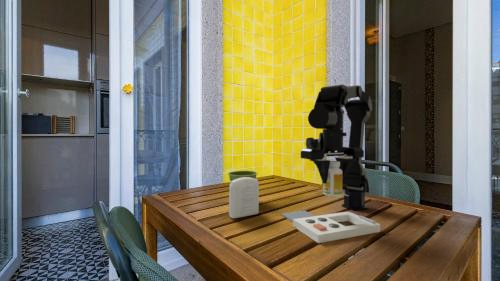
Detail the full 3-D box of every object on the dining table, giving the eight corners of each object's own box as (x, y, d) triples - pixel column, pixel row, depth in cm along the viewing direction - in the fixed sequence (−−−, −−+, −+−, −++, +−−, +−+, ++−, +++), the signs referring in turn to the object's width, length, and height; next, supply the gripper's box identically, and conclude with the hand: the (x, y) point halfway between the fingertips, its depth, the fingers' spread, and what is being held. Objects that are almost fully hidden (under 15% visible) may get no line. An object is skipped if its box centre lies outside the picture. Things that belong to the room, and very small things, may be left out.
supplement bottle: (342, 193, 74) (343, 160, 74) (341, 197, 69) (342, 162, 69) (324, 191, 77) (324, 160, 76) (321, 195, 72) (322, 162, 71)
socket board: (348, 217, 79) (348, 209, 79) (380, 231, 67) (380, 222, 67) (292, 225, 72) (292, 217, 72) (318, 243, 60) (318, 232, 60)
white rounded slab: (253, 210, 86) (253, 175, 86) (260, 214, 82) (260, 176, 82) (227, 216, 80) (226, 178, 80) (233, 220, 77) (233, 180, 76)
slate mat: (304, 211, 85) (304, 210, 85) (321, 220, 76) (321, 219, 76) (281, 214, 82) (281, 213, 82) (295, 224, 73) (295, 222, 73)
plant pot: (240, 195, 106) (240, 169, 106) (263, 200, 99) (263, 172, 99) (221, 202, 97) (221, 173, 96) (245, 207, 90) (245, 176, 89)
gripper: (338, 129, 83) (338, 175, 84) (290, 129, 76) (290, 180, 77) (365, 129, 73) (364, 181, 74) (312, 128, 66) (312, 187, 67)
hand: (332, 182), depth 73 cm, fingers closed on supplement bottle, 5 cm apart
